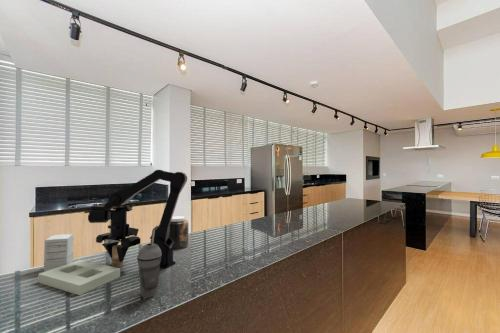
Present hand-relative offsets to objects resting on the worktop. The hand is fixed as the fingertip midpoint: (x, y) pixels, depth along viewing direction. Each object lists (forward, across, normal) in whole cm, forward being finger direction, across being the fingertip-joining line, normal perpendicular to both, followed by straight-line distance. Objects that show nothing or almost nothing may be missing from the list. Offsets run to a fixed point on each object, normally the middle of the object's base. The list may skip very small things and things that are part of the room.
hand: (117, 261), depth 93 cm
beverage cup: (+3, -28, +11) cm, 30 cm away
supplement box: (+3, +20, +10) cm, 23 cm away
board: (+2, +2, +13) cm, 13 cm away
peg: (+2, 0, 0) cm, 2 cm away
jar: (+3, -4, -31) cm, 31 cm away
